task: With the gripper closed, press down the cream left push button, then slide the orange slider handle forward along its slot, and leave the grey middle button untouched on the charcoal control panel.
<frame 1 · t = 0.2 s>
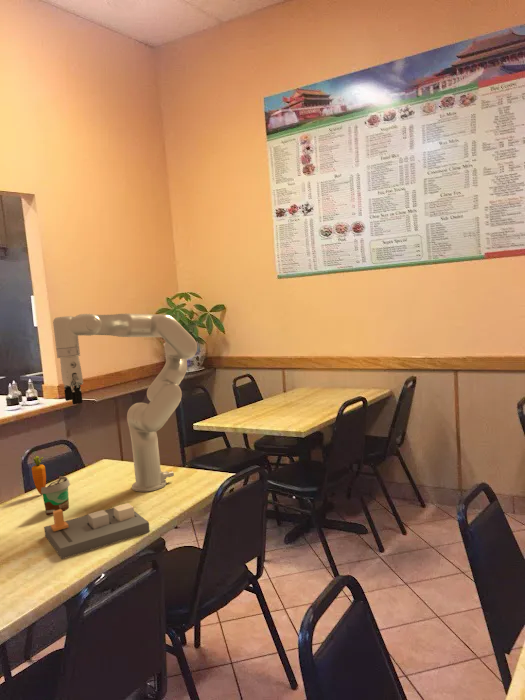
hand: (73, 401, 202), 36 cm above the table, tool pointing down, fingers open, 9 cm apart
switch panel: (97, 533, 179), on the table
cream button: (124, 513, 183), point 4 cm above the table, slide at 0.0 cm
food container: (62, 510, 202), on the table
orange slider handle: (58, 519, 177), point 6 cm above the table, slide at 0.0 cm
carrot: (41, 495, 220), on the table
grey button: (98, 520, 179), point 4 cm above the table, slide at 0.0 cm
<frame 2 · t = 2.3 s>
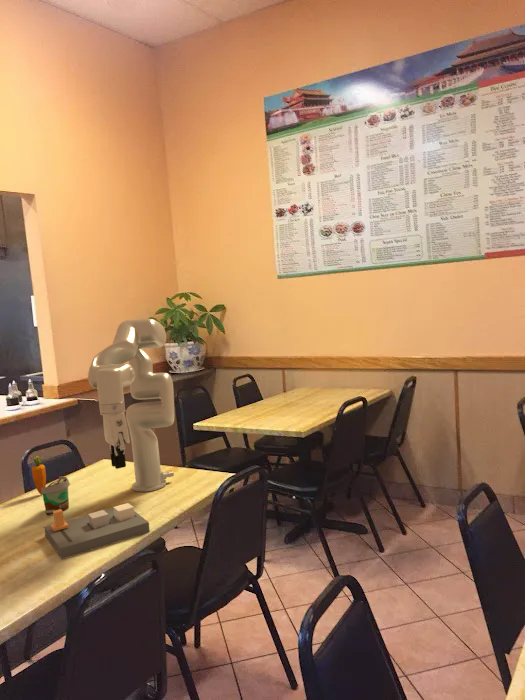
hand: (118, 466, 181), 19 cm above the table, tool pointing down, fingers closed
nothing on the table moved.
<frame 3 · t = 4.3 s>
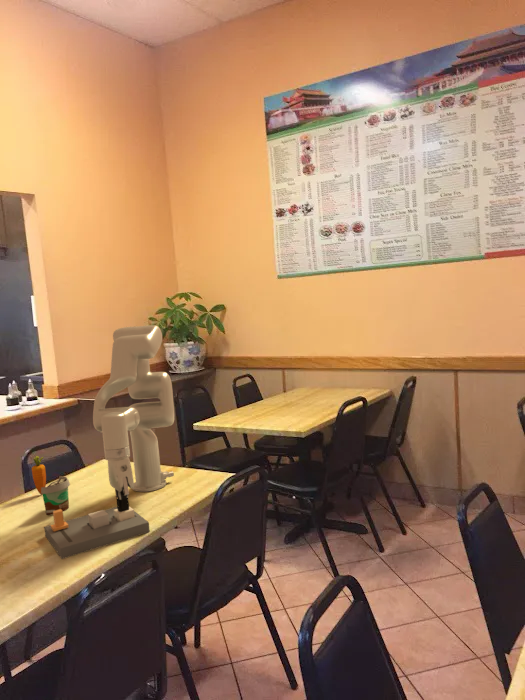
hand: (123, 510, 183), 5 cm above the table, tool pointing down, fingers closed
cream button: (124, 515, 183), point 3 cm above the table, slide at 0.9 cm, touching gripper
everything else where it was.
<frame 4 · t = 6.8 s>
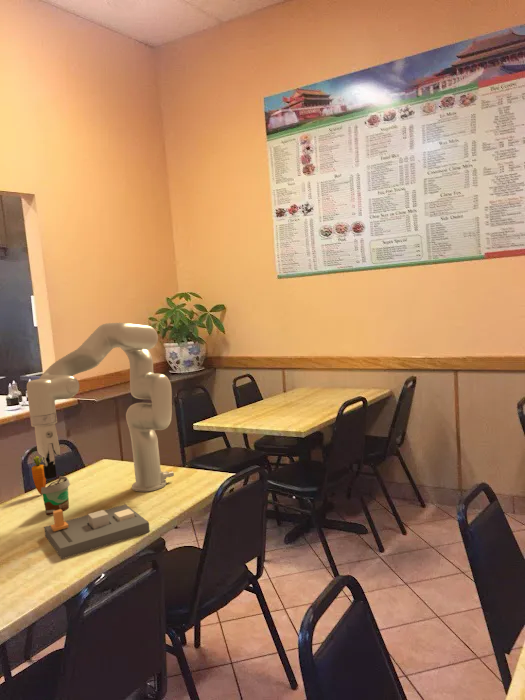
hand: (50, 477, 182), 17 cm above the table, tool pointing down, fingers closed
cream button: (124, 519, 183), point 2 cm above the table, slide at 1.9 cm
everything else where it was.
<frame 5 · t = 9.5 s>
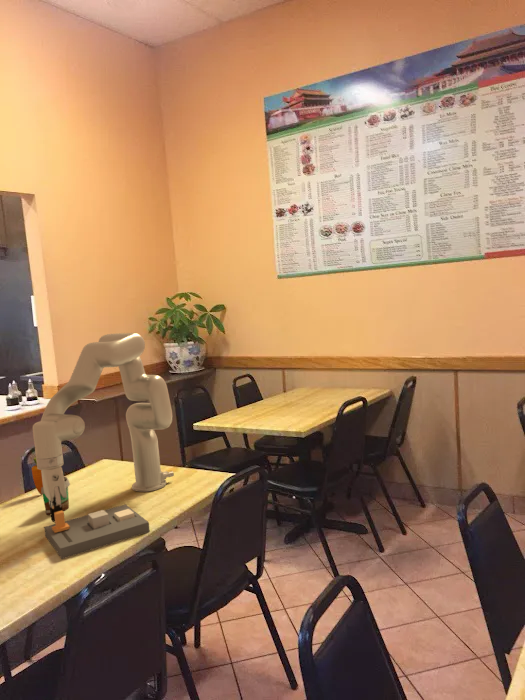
hand: (57, 519, 179), 5 cm above the table, tool pointing down, fingers closed
orange slider handle: (59, 520, 176), point 6 cm above the table, slide at 1.4 cm, touching gripper
everything else where it was.
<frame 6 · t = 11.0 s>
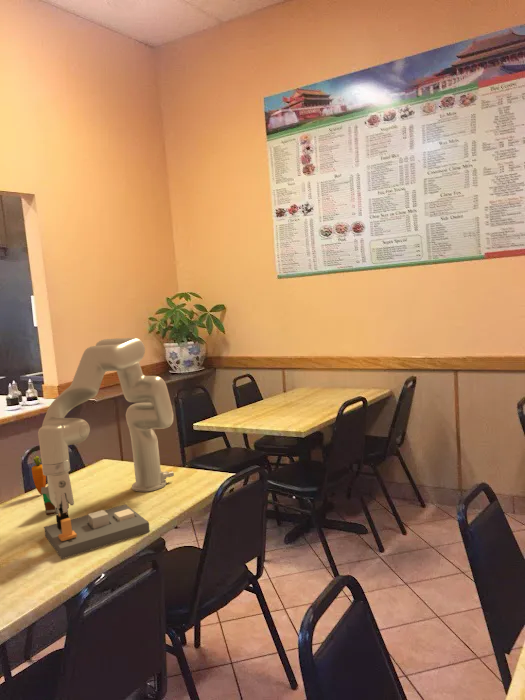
hand: (63, 527, 172), 5 cm above the table, tool pointing down, fingers closed
orange slider handle: (66, 528, 170), point 6 cm above the table, slide at 9.1 cm, touching gripper
everything else where it was.
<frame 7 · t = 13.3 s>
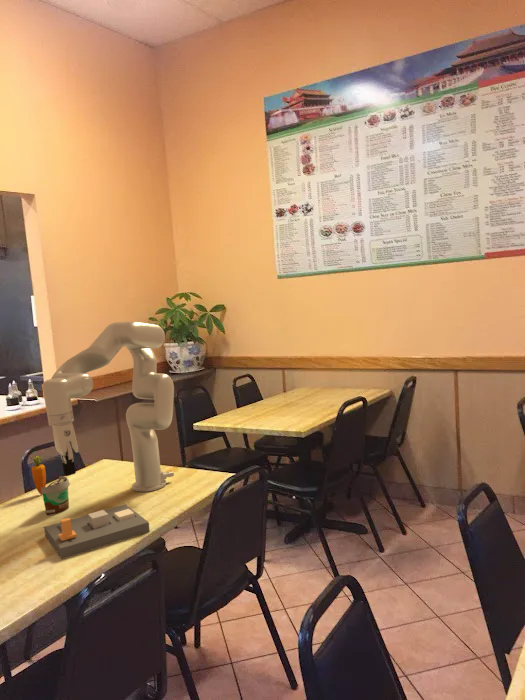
hand: (70, 474, 185), 17 cm above the table, tool pointing down, fingers closed
orange slider handle: (66, 528, 170), point 6 cm above the table, slide at 9.0 cm
everything else where it was.
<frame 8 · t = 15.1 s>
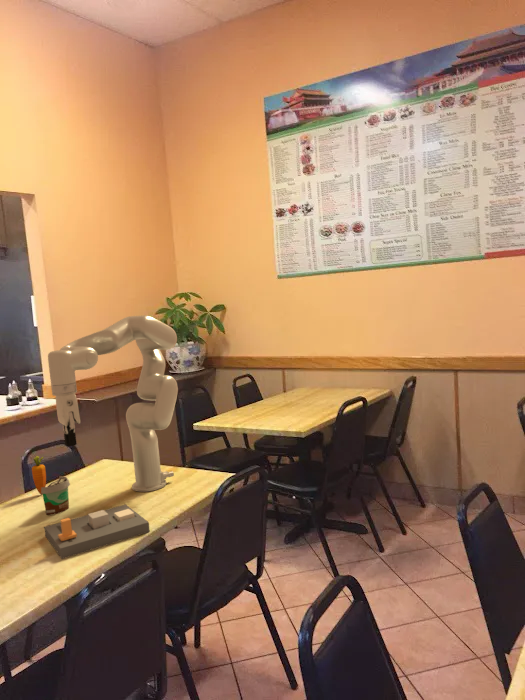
hand: (71, 445, 188), 25 cm above the table, tool pointing down, fingers closed
nothing on the table moved.
at the end: cream button slide at 1.9 cm; orange slider handle slide at 9.0 cm; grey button slide at 0.0 cm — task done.
